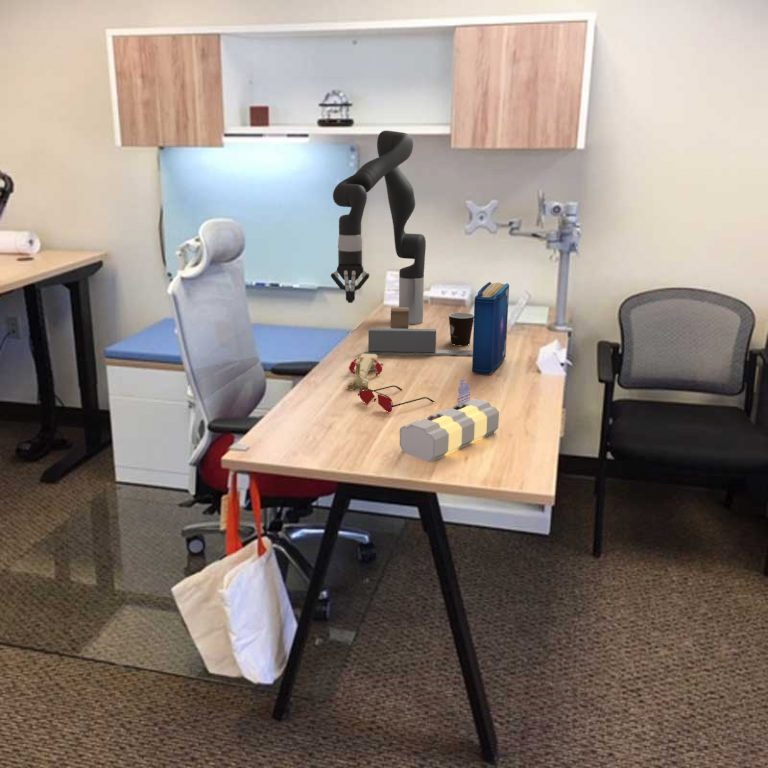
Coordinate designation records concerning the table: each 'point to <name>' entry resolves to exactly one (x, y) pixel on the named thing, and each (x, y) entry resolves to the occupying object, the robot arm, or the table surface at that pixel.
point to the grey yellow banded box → (449, 428)
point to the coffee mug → (461, 328)
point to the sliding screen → (402, 340)
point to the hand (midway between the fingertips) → (350, 302)
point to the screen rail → (438, 352)
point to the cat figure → (364, 370)
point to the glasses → (382, 398)
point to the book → (490, 327)
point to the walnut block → (399, 317)
